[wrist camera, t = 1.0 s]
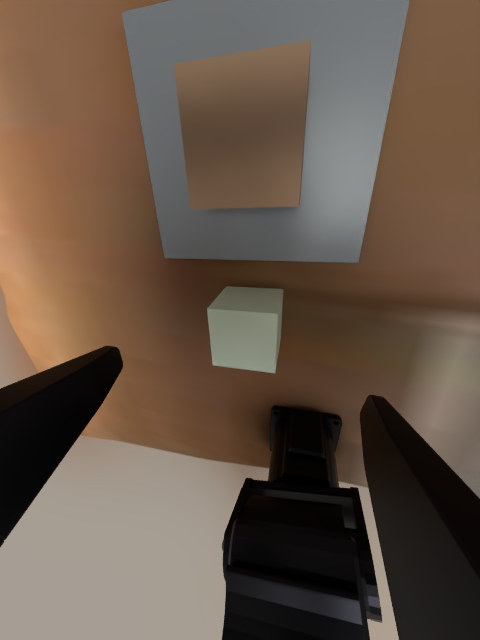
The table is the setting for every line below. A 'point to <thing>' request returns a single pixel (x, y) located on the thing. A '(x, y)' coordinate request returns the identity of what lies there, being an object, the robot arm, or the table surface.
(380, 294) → the table surface
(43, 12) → the table surface
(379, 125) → the slate pad
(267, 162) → the walnut block
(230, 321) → the sage cube
